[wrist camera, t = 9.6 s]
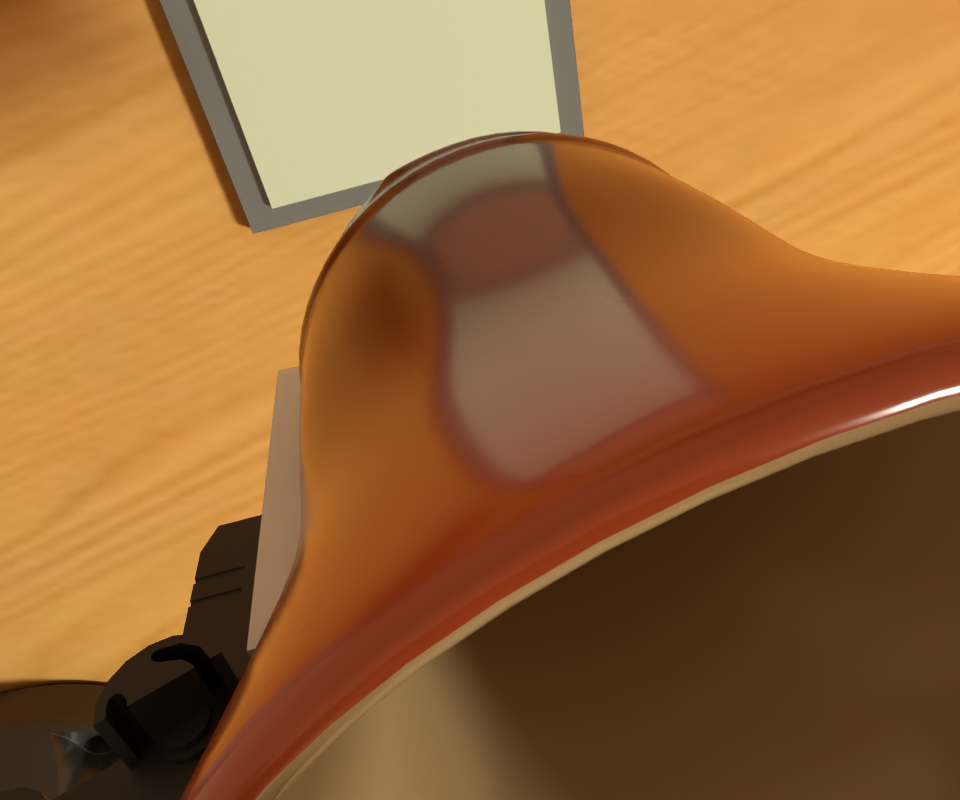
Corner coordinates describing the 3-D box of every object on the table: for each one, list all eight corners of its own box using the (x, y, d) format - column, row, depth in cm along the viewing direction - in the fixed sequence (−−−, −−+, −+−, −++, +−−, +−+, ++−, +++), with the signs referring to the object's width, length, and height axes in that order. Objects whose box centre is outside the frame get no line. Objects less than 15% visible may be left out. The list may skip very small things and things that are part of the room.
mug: (277, 17, 10) (-48, 107, 1) (763, 119, 12) (1817, 394, 4) (258, 586, 16) (176, 1303, 7) (591, 581, 18) (837, 1112, 9)
